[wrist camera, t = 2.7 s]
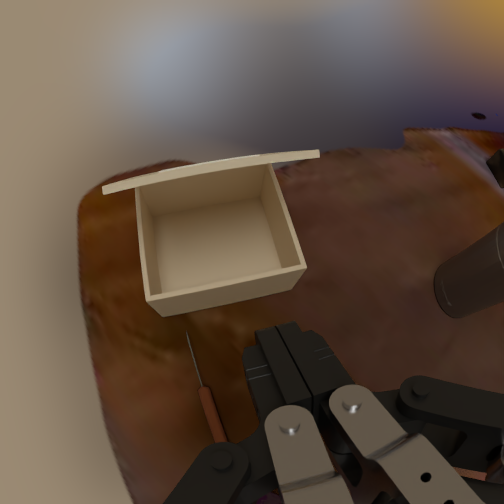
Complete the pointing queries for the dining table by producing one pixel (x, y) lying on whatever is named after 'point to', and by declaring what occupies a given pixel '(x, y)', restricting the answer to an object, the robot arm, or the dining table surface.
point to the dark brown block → (497, 166)
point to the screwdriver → (210, 409)
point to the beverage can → (269, 499)
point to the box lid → (208, 168)
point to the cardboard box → (215, 239)
